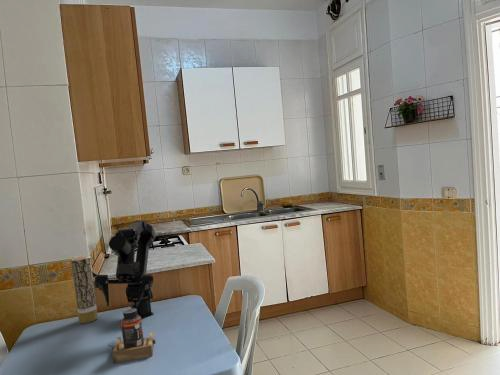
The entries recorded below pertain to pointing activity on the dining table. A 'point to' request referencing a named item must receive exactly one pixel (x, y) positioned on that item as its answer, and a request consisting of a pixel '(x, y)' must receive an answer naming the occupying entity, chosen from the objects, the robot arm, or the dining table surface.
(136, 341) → the supplement bottle
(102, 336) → the dining table surface
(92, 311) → the paper tube
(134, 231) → the robot arm
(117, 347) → the holder
